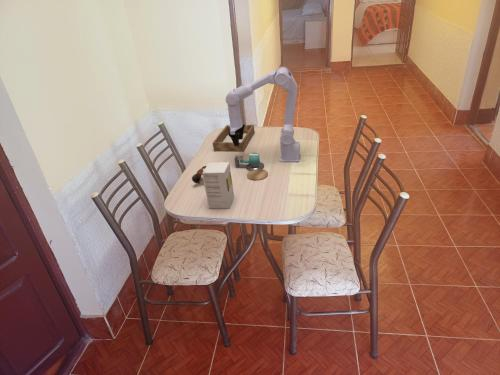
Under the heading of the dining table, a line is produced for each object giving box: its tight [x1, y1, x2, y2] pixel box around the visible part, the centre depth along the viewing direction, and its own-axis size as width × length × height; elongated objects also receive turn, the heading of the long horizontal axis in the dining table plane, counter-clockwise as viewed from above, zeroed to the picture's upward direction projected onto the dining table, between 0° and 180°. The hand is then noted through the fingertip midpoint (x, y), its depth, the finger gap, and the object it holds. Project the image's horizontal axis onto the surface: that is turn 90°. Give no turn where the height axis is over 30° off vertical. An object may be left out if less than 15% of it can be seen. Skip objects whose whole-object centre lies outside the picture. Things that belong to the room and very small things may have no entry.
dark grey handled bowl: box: [234, 155, 265, 172], centre depth 174 cm, size 14×9×6 cm, turn 76°
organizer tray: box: [212, 124, 255, 153], centre depth 203 cm, size 17×26×5 cm, turn 166°
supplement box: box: [201, 161, 235, 209], centre depth 146 cm, size 10×9×17 cm
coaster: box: [246, 168, 269, 182], centre depth 168 cm, size 10×10×1 cm
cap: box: [239, 152, 261, 165], centre depth 173 cm, size 10×5×4 cm, turn 76°
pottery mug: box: [191, 165, 207, 185], centre depth 166 cm, size 12×10×8 cm
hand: (238, 142), depth 178 cm, fingers open, 7 cm apart
